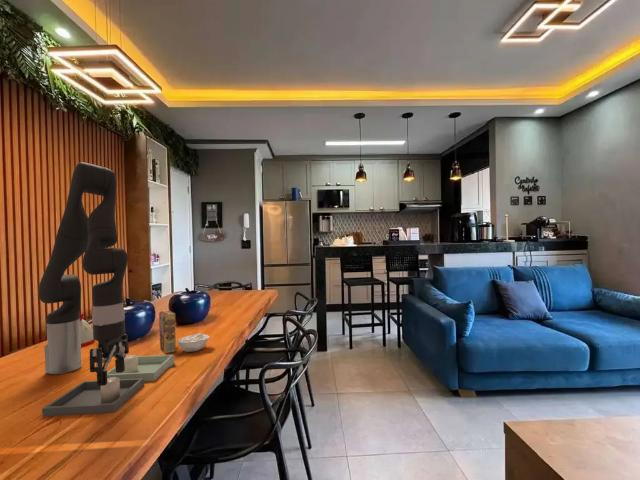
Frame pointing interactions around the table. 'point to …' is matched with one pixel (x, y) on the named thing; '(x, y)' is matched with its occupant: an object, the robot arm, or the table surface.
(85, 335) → the kitchen timer
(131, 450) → the table surface
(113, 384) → the pebble
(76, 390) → the parts tray
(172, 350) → the candy box
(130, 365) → the pebble
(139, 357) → the shallow green tray
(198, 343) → the cell model
